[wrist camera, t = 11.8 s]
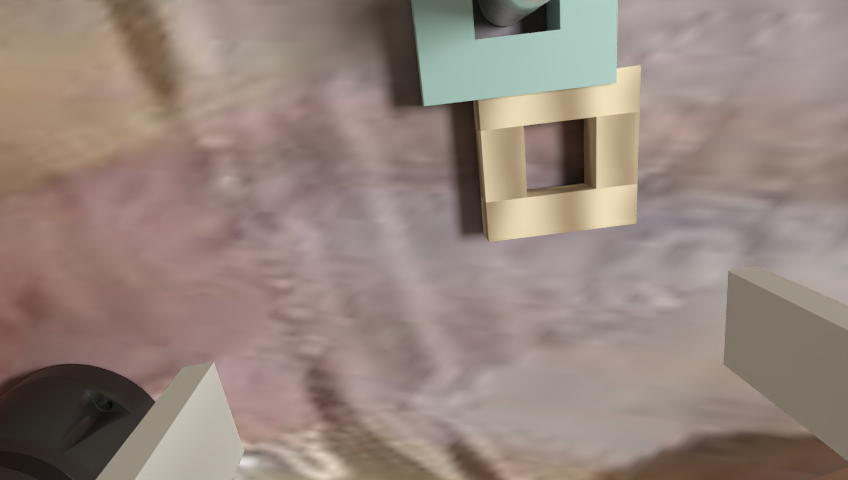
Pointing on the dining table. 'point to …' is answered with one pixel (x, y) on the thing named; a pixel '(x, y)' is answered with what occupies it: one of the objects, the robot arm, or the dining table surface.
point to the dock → (513, 51)
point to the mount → (603, 160)
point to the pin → (508, 10)
